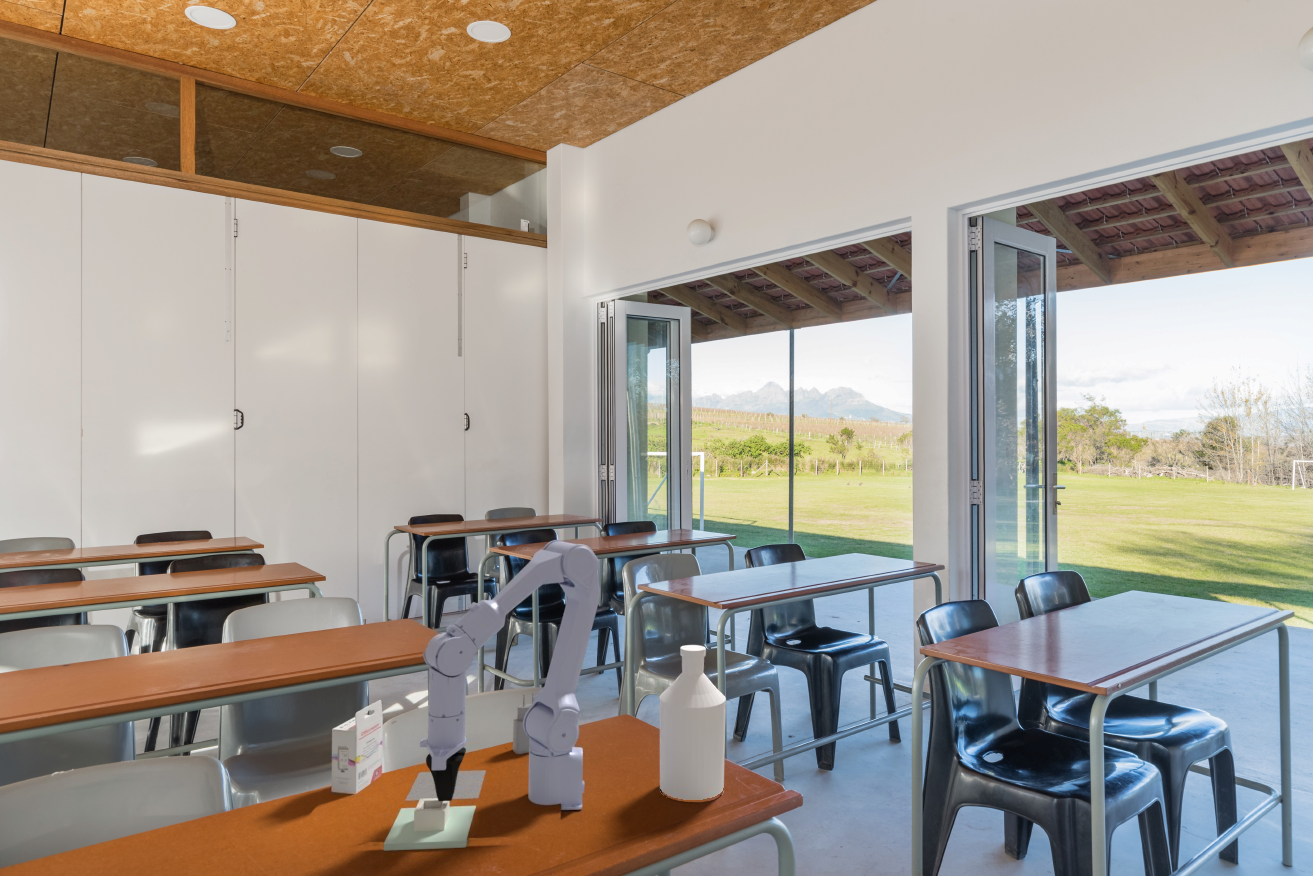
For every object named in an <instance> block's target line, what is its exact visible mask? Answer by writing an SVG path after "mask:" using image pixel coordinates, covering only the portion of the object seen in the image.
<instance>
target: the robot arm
mask: <svg viewBox="0 0 1313 876" xmlns="http://www.w3.org/2000/svg"><path fill="white" fill-rule="evenodd" d="M600 561H601V560H599V558H598V557H597V556H596V553H594V551H593V549H592V548H591V547H589V546H588V545H586V544H582V543H572V542H567V541H563V540H559V539H554V540H551V541H549V542H548V543H546V544H545V545H544V546H543V548H542V549H539V550H538V551H536V552H535V553H534V555H533V556H532V557H531V559H530V561H529V562H528V563H526V564H525V566H524V567H523V568H522V569H521V570H520V571H518V573H517V574H516V575H515V576H514V577H513V578H512V579H511V580H510V581H509V582H508V583H507V584H506V585H505V586H504V587H503V588H502V589H501V590H500V591H499V592H498V593H497V594H496V595H494V597H493V598H492V599H490V600H489V599H488V600H486V599H481V600H480V601H478V602H474V601H473V602H472V603H471V604H470V605H469V606H468V611H467V612H466V613H465V614H463V616H461V618H459V619H458V620H457V621H455V623H454V624H453V625H452V624H449V625H448V626H446V628H445V631H446V632H442V633H438V634H436V635H434V636H433V637H432V638H431V639H430V640H429V641H428V643H427V647H426V648H425V651H423V652H422V657H423V659H424V662H425V664H427V667H429V668H428V670H429V671H428V693H427V694H428V698H427V699H428V703H427V705H428V706H427V714H428V715H427V716H428V717H427V738H422V739H421V740H420V741H419V747H420V748H426V749H427V751H428V753H429V754H427V755H426V757H425V762H426V766H427V768H428V770H429V772H431V774H432V776H433V780H434V784H435V789H436V794H437V798H438V801H450V802H451V801H452V800H453V799H452V798H453V795H454V791H455V786H456V780H457V775H458V771H460V770H459V769H460V767H461V764H462V762H463V760H464V759H465V758H464V757H465V755H466V752H467V748H465V746H466V745H467V737H466V711H467V710H466V705H467V704H466V703H467V702H466V699H467V698H466V696H467V695H466V694H467V693H466V692H467V681H466V680H467V677H466V676H467V671H468V670H469V668H470V667H471V665H472V662H473V659H474V656H475V654H476V653H477V652H478V651H479V650H480V649H481V648H482V647H483V646H484V645H486V643H488V642H489V640H491V639H492V638H493V637H494V636H495V635H497V633H499V632H500V631H501V629H502V628H504V626H505V623H506V616H507V615H508V614H509V613H510V612H511V611H512V610H513V609H514V608H516V607H517V606H518V605H519V604H521V603H522V602H523V601H524V600H526V599H527V598H528V597H529V596H530V595H532V594H533V593H534V592H535V591H536V590H537V589H539V588H540V587H541V586H542V585H549V584H558V585H560V587H561V588H562V591H563V592H564V594H565V595H566V598H567V600H566V603H565V608H564V612H563V614H562V615H563V616H562V618H561V622H560V627H559V629H558V634H557V639H556V641H555V644H554V645H555V646H554V649H553V653H552V656H551V660H550V664H549V668H548V672H547V676H546V679H545V682H544V686H543V688H541V689H540V690H539V691H538V692H536V693H535V694H534V700H533V703H532V702H531V704H532V705H531V707H530V708H529V709H528V711H527V712H526V714H525V716H524V719H523V729H524V732H525V733H526V735H527V736H528V737H529V753H528V800H529V801H530V802H532V803H533V804H536V805H542V806H553V805H559V804H560V810H561V811H570V810H571V811H572V810H577V811H579V810H582V809H583V794H584V793H585V780H583V778H584V777H583V775H584V774H583V771H584V770H583V769H584V766H583V765H584V760H583V759H584V757H583V756H584V754H583V753H584V752H583V751H584V749H583V747H577V746H575V745H576V744H577V742H578V740H579V737H580V727H579V716H580V712H581V710H580V706H579V704H578V700H577V698H576V693H577V692H576V691H577V688H578V683H579V679H580V676H581V671H582V667H583V664H584V660H585V657H586V653H587V649H588V644H589V641H590V637H591V633H592V628H593V625H594V621H595V617H596V614H597V610H598V606H599V602H600V598H601V586H600V581H599V580H600V579H599V573H598V572H599V567H600V563H601V562H600Z"/></svg>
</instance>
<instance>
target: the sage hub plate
mask: <svg viewBox="0 0 1313 876" xmlns="http://www.w3.org/2000/svg"><path fill="white" fill-rule="evenodd" d="M476 807H477V805H461V806H455V805H454V806H449V819H448V822H447V824H446V827H445V830H437V831H414V811H415V809H416V807H405V808H404V807H401V808H400V810H399V813H398V814H397V817H396V818H395V821H394V822H393V825H392V826H391V828H390V830H389V833H388V835H387V836H386V838H385V840H384V843H383V851H384V852H385V851H405V850H406V851H410V850H431V849H432V850H435V849H455V848H456V849H457V848H459V849H460V848H467V845H468V841H469V837H468V836H469V832H470V828H471V824H472V823H473V818H474V814H475V811H476Z"/></svg>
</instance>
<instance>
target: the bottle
mask: <svg viewBox="0 0 1313 876" xmlns="http://www.w3.org/2000/svg"><path fill="white" fill-rule="evenodd" d="M679 648H680V650H679V651H680V653H679V655H680V656H681V671H682V672H681V673H680V674H679V675H678V677H677V678H676V679H675V680H673V682H672V683H671V684H670V685H669V686H668V687H667V688H666V689H665V690H664V691H663V692H661V694H659V790H660V789H661V790H662V792H664V793H665V794H667V795H668V796H671V797H673V798H678V799H683V800H703V799H707V798H712V797H715V796H717V795H718V794H720V793H721V792H722V791H723V788H724V789H725V787H724V785H725V784H724V783H725V749H726V739H725V738H726V707H727V698H726V696H725V695H724V694H723V693H722V692H721V691H720V690H719V689H718V688H717V687H716V686H715V685H714V684H713V682H712V681H711V680H710V678H708V676H707V675H706V674H705V673H704V669H705V665H704V663H705V657H706V656H707V655H706V654H707V649H706V647H705V646H703V645H699V644H687V645H682V646H680V647H679ZM723 792H724V791H723Z"/></svg>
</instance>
